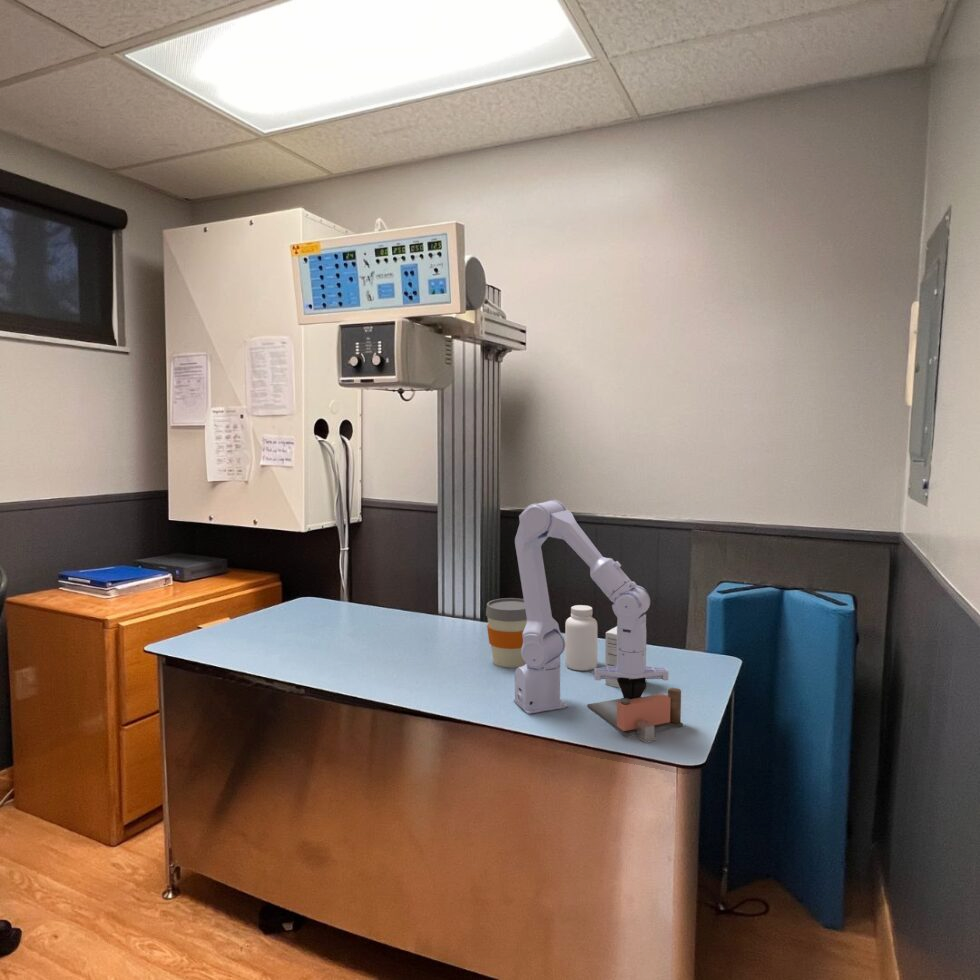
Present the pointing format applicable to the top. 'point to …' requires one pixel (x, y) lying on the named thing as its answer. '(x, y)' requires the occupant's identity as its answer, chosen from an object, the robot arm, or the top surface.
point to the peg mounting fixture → (609, 714)
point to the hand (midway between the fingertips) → (630, 713)
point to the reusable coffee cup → (506, 630)
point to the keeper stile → (645, 731)
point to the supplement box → (611, 654)
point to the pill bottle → (581, 639)
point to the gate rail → (643, 711)
